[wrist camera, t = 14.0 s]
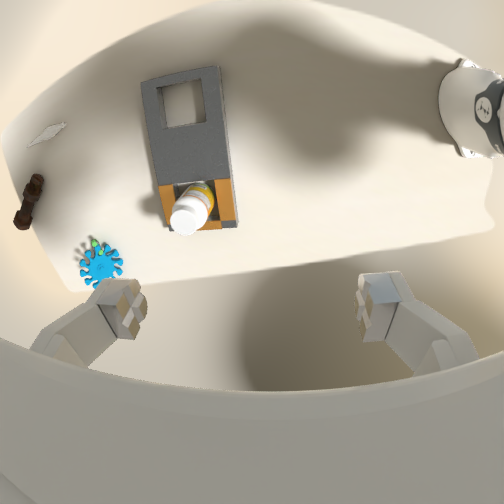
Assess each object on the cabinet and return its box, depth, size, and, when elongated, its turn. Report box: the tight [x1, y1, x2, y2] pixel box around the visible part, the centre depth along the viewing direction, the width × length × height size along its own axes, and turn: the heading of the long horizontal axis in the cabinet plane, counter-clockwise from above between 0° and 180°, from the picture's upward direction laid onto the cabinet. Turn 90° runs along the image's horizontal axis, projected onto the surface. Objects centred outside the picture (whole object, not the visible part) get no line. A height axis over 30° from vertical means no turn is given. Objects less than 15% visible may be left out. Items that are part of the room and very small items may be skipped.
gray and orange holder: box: [141, 66, 238, 231], centre depth 39 cm, size 12×26×2 cm, turn 5°
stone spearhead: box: [26, 123, 67, 148], centre depth 38 cm, size 15×3×2 cm, turn 99°
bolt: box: [13, 174, 43, 230], centre depth 44 cm, size 6×5×15 cm
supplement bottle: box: [170, 183, 216, 235], centre depth 40 cm, size 5×5×10 cm
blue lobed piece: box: [80, 240, 123, 289], centre depth 51 cm, size 11×6×10 cm
